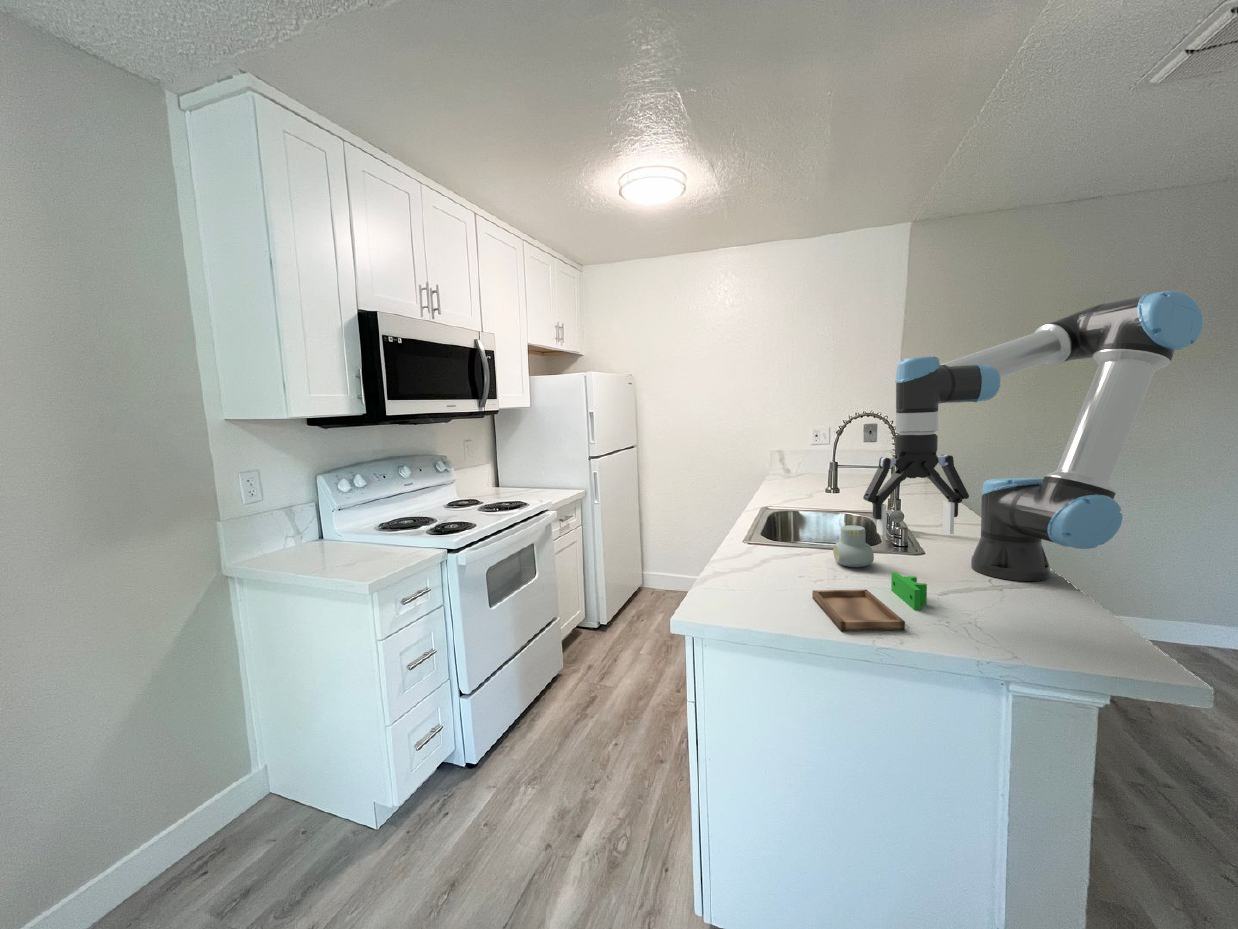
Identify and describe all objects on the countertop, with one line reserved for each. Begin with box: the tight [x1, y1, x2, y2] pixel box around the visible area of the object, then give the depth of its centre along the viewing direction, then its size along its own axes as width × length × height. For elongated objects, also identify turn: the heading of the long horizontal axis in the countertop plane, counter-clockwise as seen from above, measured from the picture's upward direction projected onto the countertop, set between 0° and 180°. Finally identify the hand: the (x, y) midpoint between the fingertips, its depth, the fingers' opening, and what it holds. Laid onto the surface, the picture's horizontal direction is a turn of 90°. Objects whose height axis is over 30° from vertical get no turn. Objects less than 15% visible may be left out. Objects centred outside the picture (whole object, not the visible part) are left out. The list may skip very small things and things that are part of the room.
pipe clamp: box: [890, 571, 928, 611], centre depth 106 cm, size 11×4×5 cm, turn 173°
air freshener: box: [832, 524, 875, 568], centre depth 131 cm, size 11×8×10 cm
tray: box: [811, 589, 906, 632], centre depth 101 cm, size 12×17×2 cm
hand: (914, 533), depth 105 cm, fingers open, 13 cm apart
